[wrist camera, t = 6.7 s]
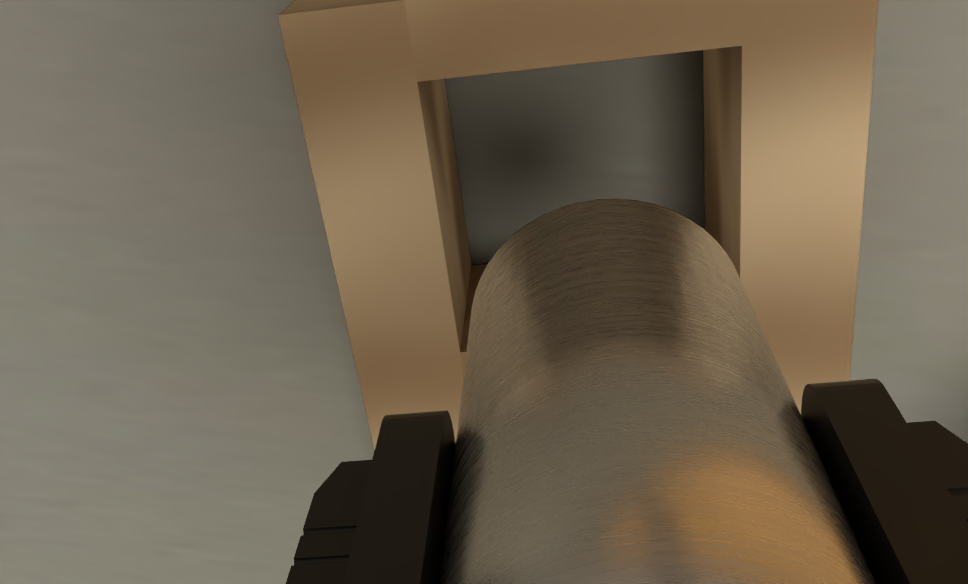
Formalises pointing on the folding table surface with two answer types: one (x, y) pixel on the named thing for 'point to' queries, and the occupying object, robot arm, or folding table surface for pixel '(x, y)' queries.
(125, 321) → the folding table surface
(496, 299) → the grey rounded cylinder
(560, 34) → the frame
